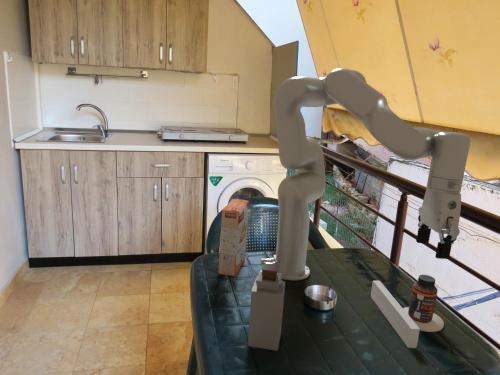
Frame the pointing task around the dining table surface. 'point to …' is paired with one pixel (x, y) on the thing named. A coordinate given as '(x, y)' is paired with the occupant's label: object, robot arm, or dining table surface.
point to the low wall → (395, 314)
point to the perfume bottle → (266, 309)
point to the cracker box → (233, 236)
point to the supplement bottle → (423, 299)
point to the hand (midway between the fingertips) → (431, 250)
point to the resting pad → (429, 323)
